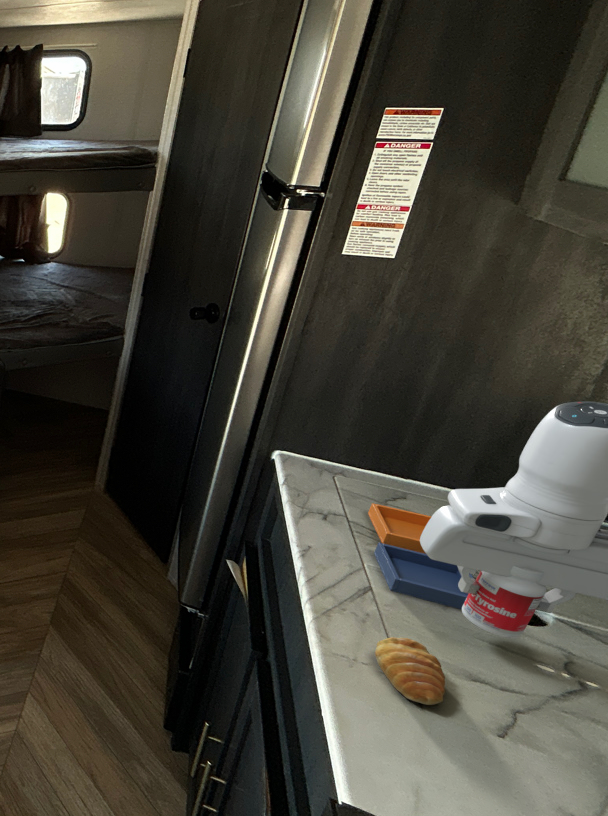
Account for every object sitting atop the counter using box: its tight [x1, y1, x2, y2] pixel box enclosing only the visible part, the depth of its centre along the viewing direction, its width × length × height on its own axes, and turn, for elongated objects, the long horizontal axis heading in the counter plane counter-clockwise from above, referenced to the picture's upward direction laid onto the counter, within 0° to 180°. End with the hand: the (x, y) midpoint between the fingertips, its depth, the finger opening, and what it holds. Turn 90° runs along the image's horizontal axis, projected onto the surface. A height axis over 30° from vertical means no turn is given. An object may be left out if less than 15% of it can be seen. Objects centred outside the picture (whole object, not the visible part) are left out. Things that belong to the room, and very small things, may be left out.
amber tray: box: [367, 502, 433, 554], centre depth 113 cm, size 11×10×2 cm
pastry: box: [374, 636, 446, 706], centre depth 85 cm, size 9×7×4 cm
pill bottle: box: [461, 566, 547, 638], centre depth 88 cm, size 6×6×11 cm
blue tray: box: [373, 542, 474, 611], centre depth 103 cm, size 11×10×2 cm
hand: (501, 599), depth 88 cm, fingers closed on pill bottle, 6 cm apart
